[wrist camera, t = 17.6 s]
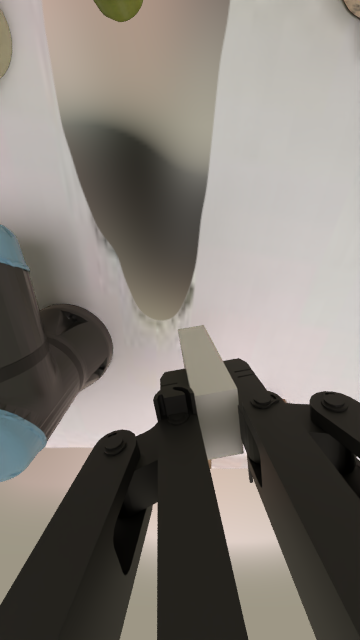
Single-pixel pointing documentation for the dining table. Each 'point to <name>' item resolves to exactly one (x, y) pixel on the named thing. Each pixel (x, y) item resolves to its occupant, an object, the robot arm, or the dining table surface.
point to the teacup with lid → (353, 6)
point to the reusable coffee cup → (4, 45)
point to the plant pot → (119, 8)
